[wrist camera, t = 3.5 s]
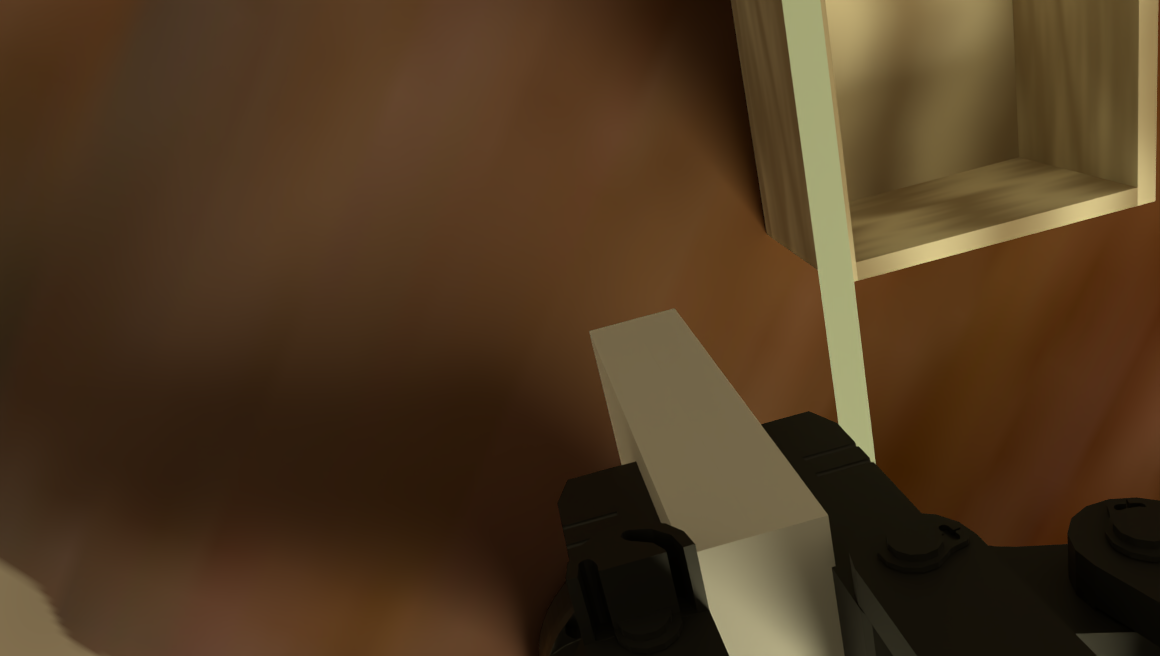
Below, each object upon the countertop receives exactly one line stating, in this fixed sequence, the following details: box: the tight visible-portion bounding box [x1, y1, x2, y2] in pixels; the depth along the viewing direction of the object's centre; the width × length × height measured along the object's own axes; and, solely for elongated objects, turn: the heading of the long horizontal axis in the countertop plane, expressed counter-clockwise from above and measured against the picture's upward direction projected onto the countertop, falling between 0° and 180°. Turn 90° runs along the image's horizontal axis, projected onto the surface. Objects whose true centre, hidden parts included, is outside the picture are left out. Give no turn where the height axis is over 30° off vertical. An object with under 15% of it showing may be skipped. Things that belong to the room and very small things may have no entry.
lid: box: [782, 0, 876, 464], centre depth 27 cm, size 14×14×1 cm
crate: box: [731, 0, 1158, 281], centre depth 38 cm, size 14×14×9 cm
